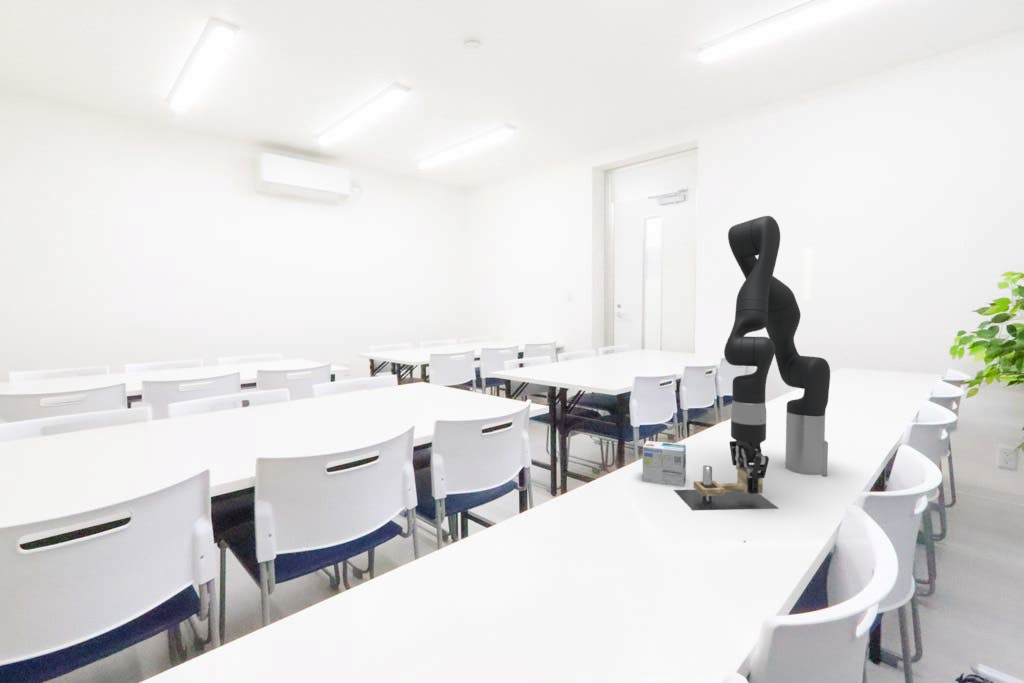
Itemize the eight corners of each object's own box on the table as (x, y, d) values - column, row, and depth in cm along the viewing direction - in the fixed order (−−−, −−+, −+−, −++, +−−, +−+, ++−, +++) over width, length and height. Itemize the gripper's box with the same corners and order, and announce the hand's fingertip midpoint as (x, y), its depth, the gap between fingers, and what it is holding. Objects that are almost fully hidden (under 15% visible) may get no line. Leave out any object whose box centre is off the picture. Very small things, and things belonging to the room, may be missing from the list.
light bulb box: (686, 482, 126) (686, 443, 125) (684, 491, 120) (684, 450, 119) (645, 477, 130) (646, 439, 130) (641, 485, 124) (642, 446, 123)
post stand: (751, 492, 118) (752, 457, 118) (779, 512, 106) (779, 474, 106) (673, 493, 118) (673, 459, 117) (692, 514, 106) (692, 476, 105)
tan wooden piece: (751, 485, 115) (752, 465, 114) (764, 494, 109) (764, 473, 109) (693, 487, 114) (693, 467, 114) (702, 496, 109) (702, 475, 109)
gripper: (781, 426, 104) (780, 501, 105) (748, 412, 118) (747, 478, 119) (748, 427, 104) (747, 502, 105) (719, 413, 118) (718, 479, 119)
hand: (747, 488), depth 112 cm, fingers closed on tan wooden piece, 4 cm apart
